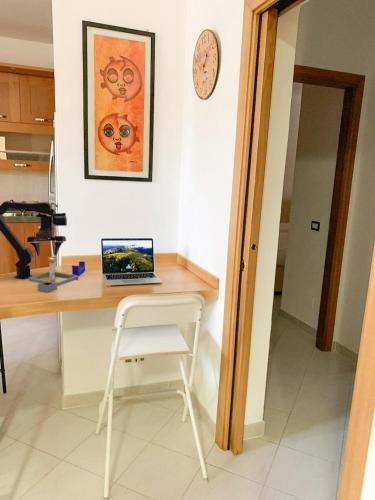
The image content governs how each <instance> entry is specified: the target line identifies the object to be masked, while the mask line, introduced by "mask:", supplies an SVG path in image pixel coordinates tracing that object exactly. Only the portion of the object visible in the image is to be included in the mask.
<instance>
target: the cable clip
mask: <svg viewBox="0 0 375 500" xmlns="http://www.w3.org/2000/svg"><path fill="white" fill-rule="evenodd" d="M71 267H72V268H71V269H72V270H71V271H72V274H71V275H77V276H78V277H79V276H81V275H82V274H83V273H84V271H85V272H86V261H83V260H82V261H78V265H72V266H71Z"/></svg>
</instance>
